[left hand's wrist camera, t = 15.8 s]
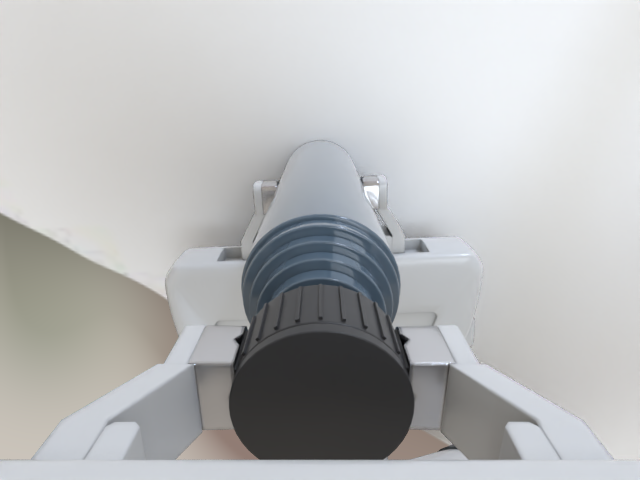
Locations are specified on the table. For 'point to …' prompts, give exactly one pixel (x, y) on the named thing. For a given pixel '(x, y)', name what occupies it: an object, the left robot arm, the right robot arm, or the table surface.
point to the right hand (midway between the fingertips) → (319, 179)
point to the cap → (321, 379)
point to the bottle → (320, 234)
